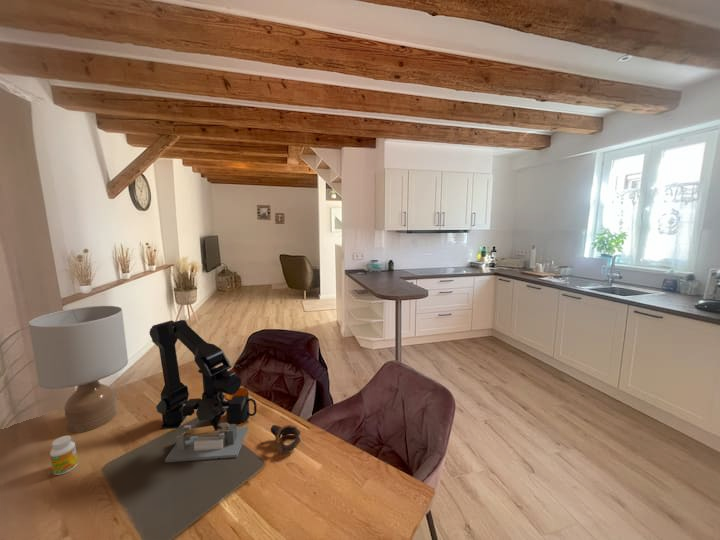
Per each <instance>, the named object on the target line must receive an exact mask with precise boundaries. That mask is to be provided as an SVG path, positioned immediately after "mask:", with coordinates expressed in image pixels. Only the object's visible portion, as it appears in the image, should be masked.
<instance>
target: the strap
mask: <svg viewBox="0 0 720 540" xmlns="http://www.w3.org/2000/svg"><path fill="white" fill-rule="evenodd" d="M227 427H228V423H227V421H226V422H219V426H218V428H217V429H214V427H213V426H212V425H207V426H200V427H194V428H191V429H185V430H184V429H183V431H182V432H181V434H180V435H184V436H185V437H192V436H199V435H205V434H212V433H219V432H225V431H226V429H227Z"/></svg>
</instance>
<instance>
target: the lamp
mask: <svg viewBox="0 0 720 540" xmlns="http://www.w3.org/2000/svg"><path fill="white" fill-rule="evenodd" d="M123 316H124V315H123V309H122V307H120V306H114V305H95V306H84V307H75V308H71V309H65V310H64V309H63V310H59V311H55V312H51V313H46V314H44V315H40V316H37V317H35V318H33V319H31V320H30V321H28V328H29V334H30V335H29V336H30V339H31V345H32V352H33V358H34V364H35V370H36V375H37V382H38V385H39V386H40V387H41V388H45V389H51V390H52V389H66V388H67V389H68V388H73V387H76V390H74V391H73V392H72V393H71V395H69V396H68V398H67V399H66V400H65V402H64V407H63V410H64V416H65V422H66V423H65V426H66V428H67V430H68V431H69V432H71V433H83V432H89V431H92V430H95V429H97V428H100V427H102V426H104V425H106V424H108V423H109V422H111V420H113V419H114V418H115V417H116V416H117V403H116V394H115V391H114V389H113V388H112V387H111V386H109V385H106V384H103V383H101V382H100V380H103V379H105V378H109V377H111V376H112V375H114V374H116V373H118V372H120V371H122V369H123V370H124V368H125V367H126V366H127V365H128V363H129V359H128V350H127V341H126V334H125V333H126V332H125V322H124V317H123Z"/></svg>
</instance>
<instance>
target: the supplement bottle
mask: <svg viewBox="0 0 720 540" xmlns="http://www.w3.org/2000/svg"><path fill="white" fill-rule="evenodd" d="M51 447H52V449H51V450H50V451H49V456H50V462H51V468H52V469H51V470H52V474H53V475H55V476H60V475H64V474H66V473H69V472H71V471H72V470H74V469H75V468H76V467H77V466H78V460H79V459H78V454H77V448H76V447H77V446H76V443H75V441H72V438H71V436H70V435H63V436H59V437H58V438H55V440H53V441H52V443H51Z"/></svg>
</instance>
